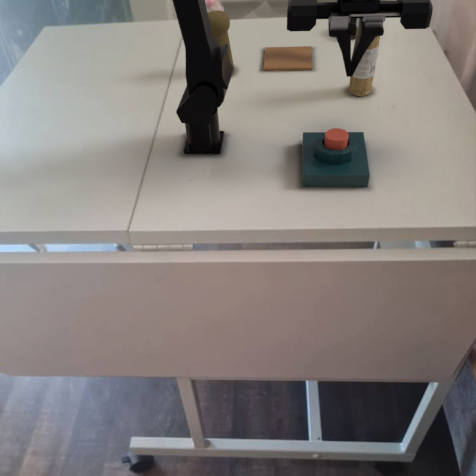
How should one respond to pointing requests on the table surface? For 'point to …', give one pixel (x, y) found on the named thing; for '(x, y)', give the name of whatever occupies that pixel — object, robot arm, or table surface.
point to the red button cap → (336, 139)
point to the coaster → (287, 58)
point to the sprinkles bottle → (365, 69)
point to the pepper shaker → (221, 30)
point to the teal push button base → (334, 162)
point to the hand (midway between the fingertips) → (349, 75)
